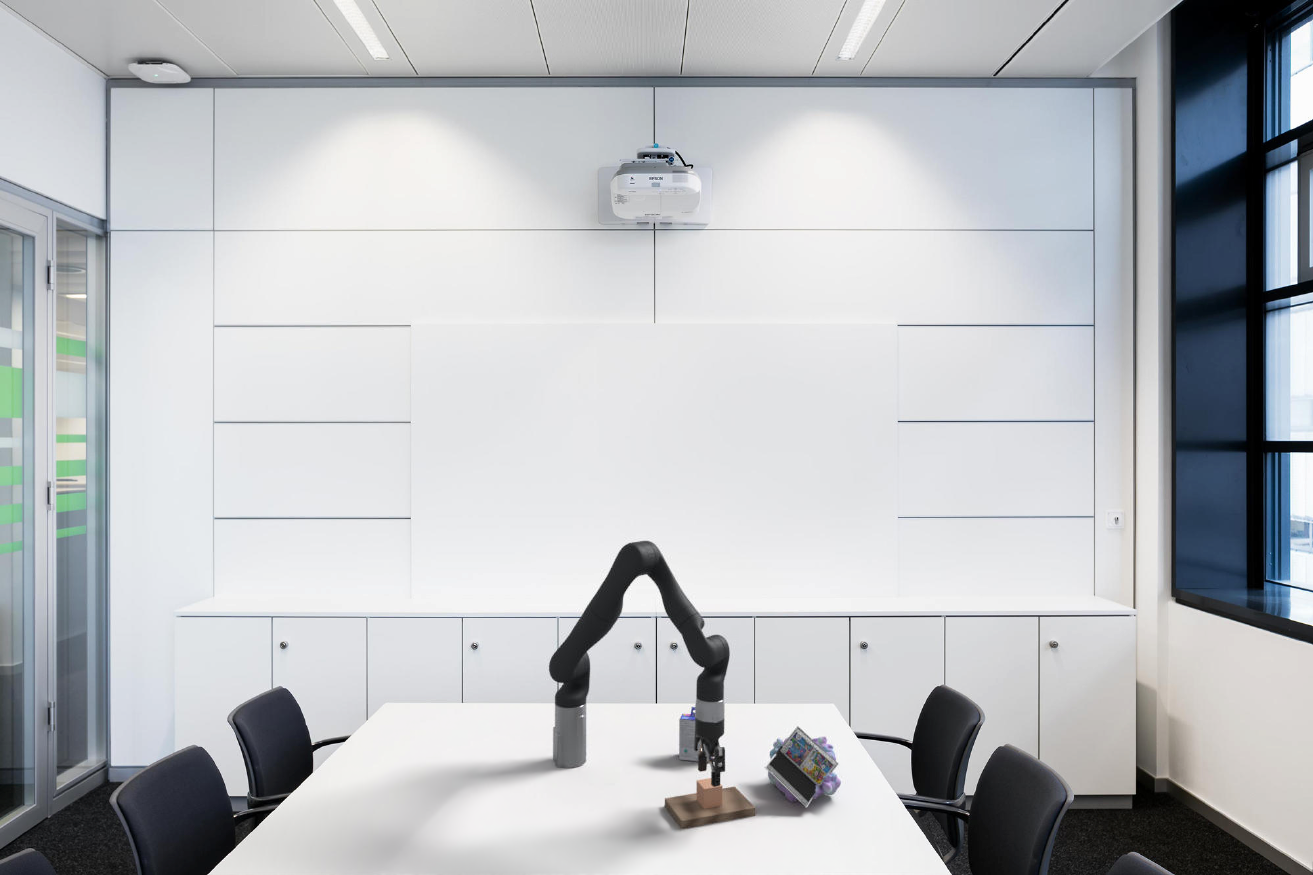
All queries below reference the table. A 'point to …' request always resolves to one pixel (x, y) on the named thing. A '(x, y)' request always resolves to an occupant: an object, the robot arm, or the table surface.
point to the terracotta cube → (708, 794)
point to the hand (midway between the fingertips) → (708, 778)
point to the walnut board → (709, 809)
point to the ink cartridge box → (687, 737)
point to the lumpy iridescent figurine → (803, 767)
